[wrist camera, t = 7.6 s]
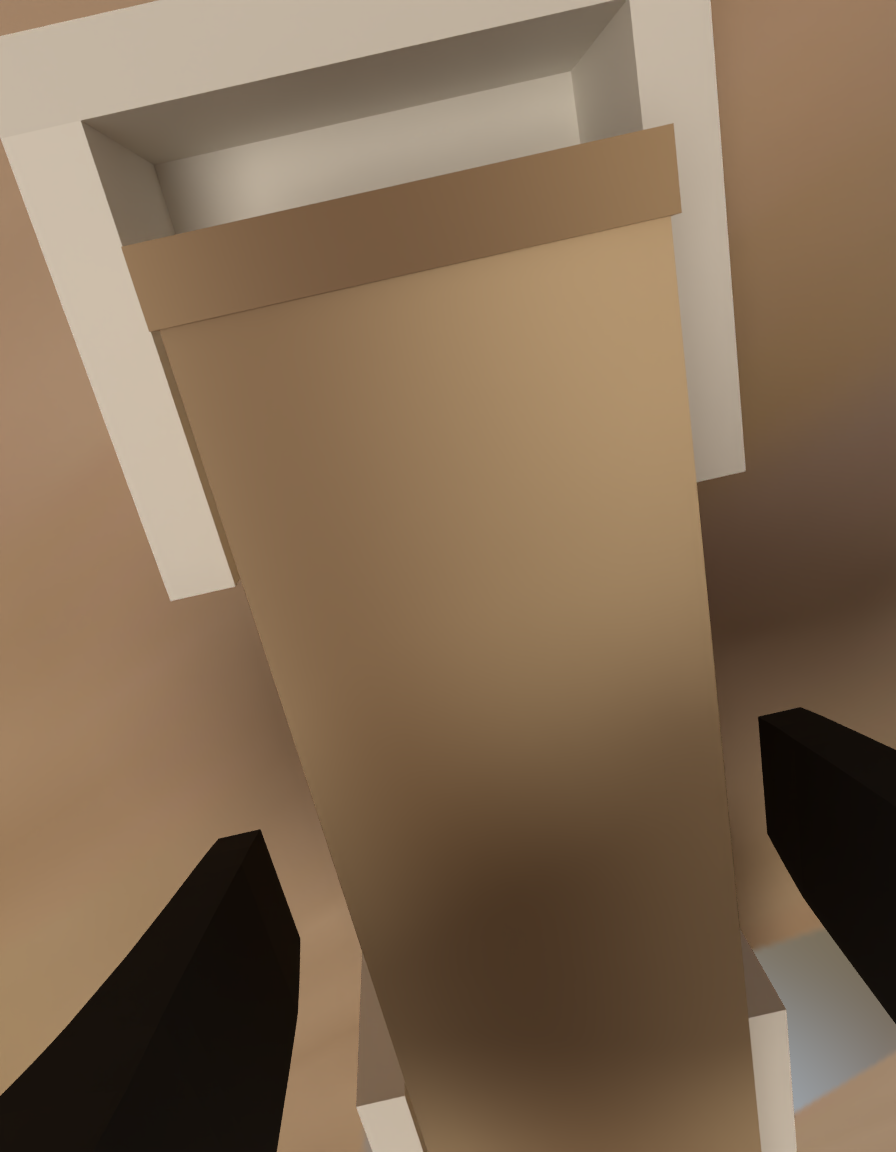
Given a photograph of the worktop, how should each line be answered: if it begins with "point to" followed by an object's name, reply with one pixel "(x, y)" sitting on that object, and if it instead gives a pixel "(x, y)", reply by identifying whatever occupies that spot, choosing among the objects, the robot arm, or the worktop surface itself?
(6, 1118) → the robot arm
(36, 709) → the worktop surface
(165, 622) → the worktop surface
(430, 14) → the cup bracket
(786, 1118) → the cup bracket
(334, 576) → the oak rail
